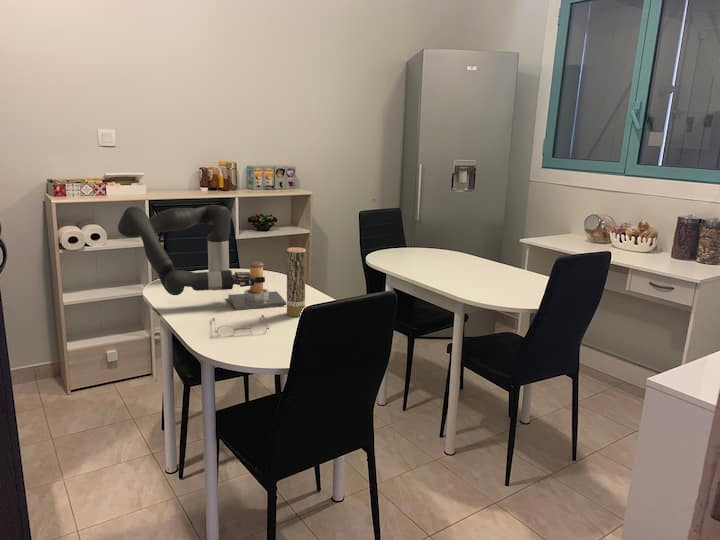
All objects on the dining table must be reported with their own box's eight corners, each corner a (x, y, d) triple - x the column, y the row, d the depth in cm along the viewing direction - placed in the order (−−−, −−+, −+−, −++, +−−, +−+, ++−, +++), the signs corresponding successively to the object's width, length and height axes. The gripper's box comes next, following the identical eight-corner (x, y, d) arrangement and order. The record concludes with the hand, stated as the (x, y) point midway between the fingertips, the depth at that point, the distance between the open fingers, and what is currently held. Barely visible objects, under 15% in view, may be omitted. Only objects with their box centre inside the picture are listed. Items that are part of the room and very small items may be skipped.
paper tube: (297, 310, 217) (297, 246, 211) (308, 314, 212) (309, 249, 206) (283, 313, 212) (283, 248, 206) (294, 318, 208) (294, 252, 202)
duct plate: (228, 298, 229) (228, 287, 228) (276, 294, 236) (276, 284, 235) (234, 310, 215) (234, 298, 214) (286, 305, 222) (286, 294, 221)
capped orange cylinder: (248, 293, 226) (248, 262, 223) (261, 292, 228) (261, 261, 225) (251, 297, 221) (250, 265, 218) (264, 296, 223) (264, 264, 220)
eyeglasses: (214, 338, 187) (214, 326, 186) (212, 321, 205) (212, 310, 204) (269, 334, 192) (269, 323, 191) (262, 318, 210) (262, 308, 209)
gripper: (222, 275, 211) (267, 273, 217) (216, 266, 224) (259, 264, 230) (222, 294, 212) (267, 291, 219) (217, 284, 225) (259, 282, 231)
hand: (263, 277), depth 224 cm, fingers closed on capped orange cylinder, 5 cm apart
